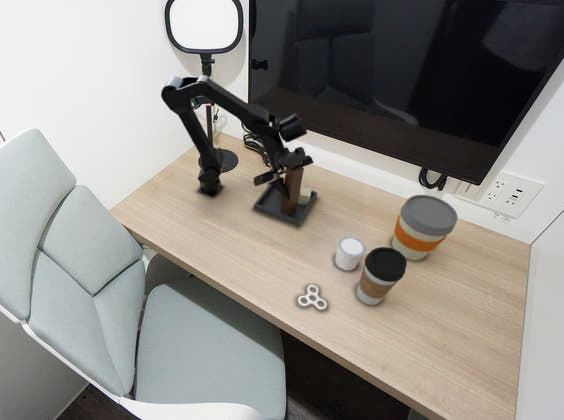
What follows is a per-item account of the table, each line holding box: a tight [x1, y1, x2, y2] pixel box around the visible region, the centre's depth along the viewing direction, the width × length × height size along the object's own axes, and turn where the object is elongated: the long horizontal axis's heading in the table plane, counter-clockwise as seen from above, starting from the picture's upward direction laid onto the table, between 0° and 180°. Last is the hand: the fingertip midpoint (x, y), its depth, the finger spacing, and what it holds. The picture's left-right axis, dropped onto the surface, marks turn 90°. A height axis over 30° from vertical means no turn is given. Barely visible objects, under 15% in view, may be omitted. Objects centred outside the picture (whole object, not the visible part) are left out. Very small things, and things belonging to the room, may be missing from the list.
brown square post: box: [281, 165, 305, 217], centre depth 94 cm, size 4×4×18 cm
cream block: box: [298, 186, 313, 205], centre depth 103 cm, size 4×4×4 cm
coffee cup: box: [356, 246, 408, 306], centre depth 74 cm, size 8×8×15 cm
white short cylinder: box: [334, 236, 366, 271], centre depth 85 cm, size 7×7×7 cm
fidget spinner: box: [297, 284, 328, 311], centre depth 79 cm, size 7×6×1 cm
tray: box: [253, 184, 318, 228], centre depth 103 cm, size 16×16×3 cm
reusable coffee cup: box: [391, 194, 459, 261], centre depth 85 cm, size 13×13×15 cm
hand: (293, 197), depth 94 cm, fingers closed on brown square post, 3 cm apart
